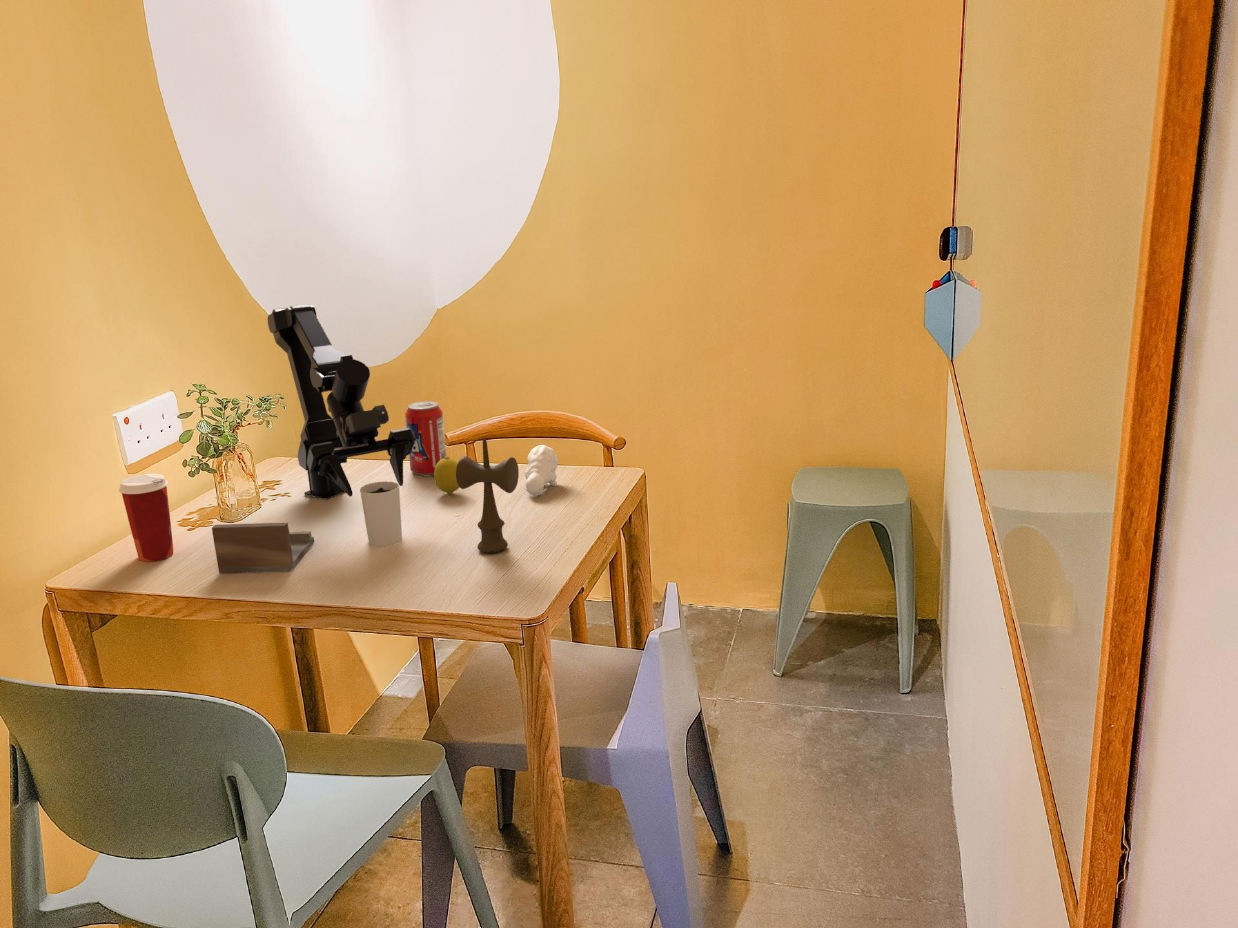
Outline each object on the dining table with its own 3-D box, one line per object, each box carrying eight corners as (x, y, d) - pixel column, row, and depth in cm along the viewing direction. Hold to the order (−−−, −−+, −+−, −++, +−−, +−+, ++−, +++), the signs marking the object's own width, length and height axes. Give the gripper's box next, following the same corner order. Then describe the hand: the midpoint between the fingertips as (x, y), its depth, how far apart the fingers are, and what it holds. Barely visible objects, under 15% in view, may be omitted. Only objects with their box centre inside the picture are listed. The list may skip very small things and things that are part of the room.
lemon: (466, 490, 203) (463, 452, 201) (460, 499, 198) (456, 460, 195) (440, 490, 204) (436, 452, 201) (432, 499, 198) (429, 460, 196)
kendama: (512, 558, 167) (504, 443, 162) (459, 554, 170) (450, 440, 164) (525, 545, 173) (518, 433, 167) (474, 541, 176) (465, 431, 170)
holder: (247, 544, 178) (240, 501, 176) (314, 542, 178) (308, 499, 176) (219, 573, 166) (211, 527, 163) (291, 571, 165) (284, 525, 163)
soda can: (450, 474, 214) (444, 406, 209) (413, 479, 211) (407, 410, 207) (444, 465, 221) (438, 398, 216) (408, 469, 218) (401, 402, 214)
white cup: (360, 540, 178) (353, 487, 175) (394, 531, 182) (389, 479, 179) (375, 550, 173) (369, 496, 170) (411, 541, 177) (405, 487, 174)
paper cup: (189, 549, 176) (176, 474, 172) (157, 566, 169) (143, 487, 165) (154, 545, 179) (140, 471, 175) (121, 561, 172) (106, 484, 168)
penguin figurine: (558, 442, 204) (546, 464, 193) (561, 479, 207) (549, 503, 196) (528, 441, 205) (515, 464, 194) (532, 479, 208) (518, 502, 197)
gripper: (302, 400, 171) (330, 476, 165) (406, 384, 180) (436, 456, 174) (296, 435, 179) (322, 509, 174) (395, 418, 189) (423, 488, 183)
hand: (376, 490), depth 176 cm, fingers open, 9 cm apart
